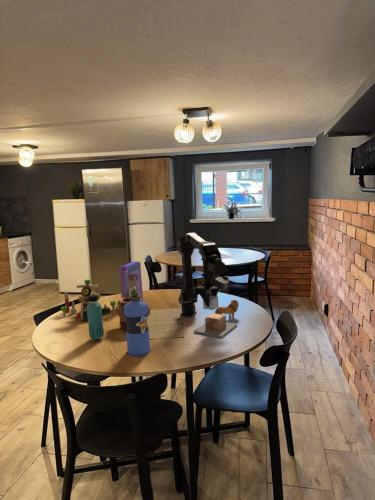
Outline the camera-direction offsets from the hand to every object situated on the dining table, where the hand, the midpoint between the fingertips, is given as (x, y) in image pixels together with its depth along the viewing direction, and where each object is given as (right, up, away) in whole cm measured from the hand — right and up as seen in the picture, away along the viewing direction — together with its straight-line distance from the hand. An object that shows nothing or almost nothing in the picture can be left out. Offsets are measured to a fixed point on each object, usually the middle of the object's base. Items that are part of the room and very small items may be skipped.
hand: (210, 305), depth 154 cm
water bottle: (-30, -16, -17) cm, 38 cm away
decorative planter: (-36, -12, +10) cm, 40 cm away
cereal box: (-43, -7, +50) cm, 66 cm away
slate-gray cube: (0, -1, 0) cm, 1 cm away
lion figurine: (+9, -9, +15) cm, 20 cm away
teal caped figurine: (-51, -15, -3) cm, 53 cm away
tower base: (+3, -11, +2) cm, 12 cm away
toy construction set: (-67, -11, +33) cm, 75 cm away
